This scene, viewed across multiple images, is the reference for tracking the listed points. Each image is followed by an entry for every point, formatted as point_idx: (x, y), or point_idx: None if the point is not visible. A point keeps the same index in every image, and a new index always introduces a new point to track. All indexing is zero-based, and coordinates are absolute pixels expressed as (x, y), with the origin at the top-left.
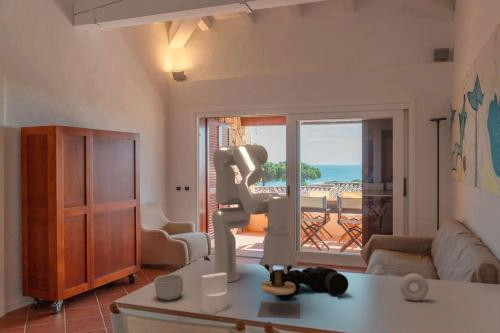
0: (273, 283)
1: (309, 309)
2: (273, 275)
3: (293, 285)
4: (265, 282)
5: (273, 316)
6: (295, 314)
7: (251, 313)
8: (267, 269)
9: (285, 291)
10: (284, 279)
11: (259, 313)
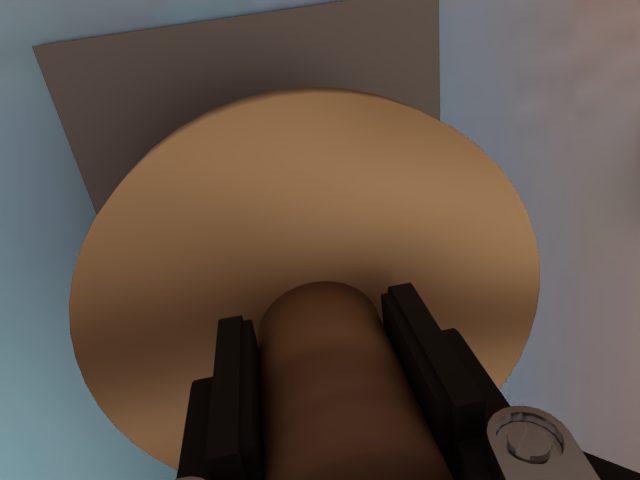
0: (385, 298)
1: (59, 308)
2: (429, 384)
3: (122, 392)
4: (488, 373)
5: (294, 33)
6: (110, 134)
7: (488, 108)
8: (614, 475)
9: (158, 151)
10: (213, 374)
11: (427, 74)
